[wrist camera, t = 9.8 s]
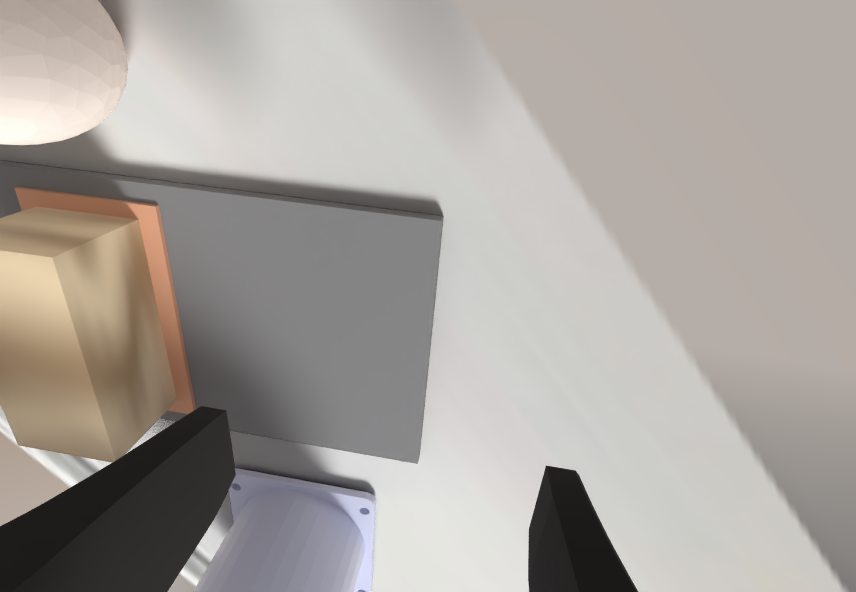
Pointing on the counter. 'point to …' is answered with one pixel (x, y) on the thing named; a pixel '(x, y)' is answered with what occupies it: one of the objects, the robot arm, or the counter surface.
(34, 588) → the robot arm
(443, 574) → the counter surface
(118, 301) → the tan wooden block
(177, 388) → the terracotta strip
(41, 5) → the egg
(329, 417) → the rubber mat
